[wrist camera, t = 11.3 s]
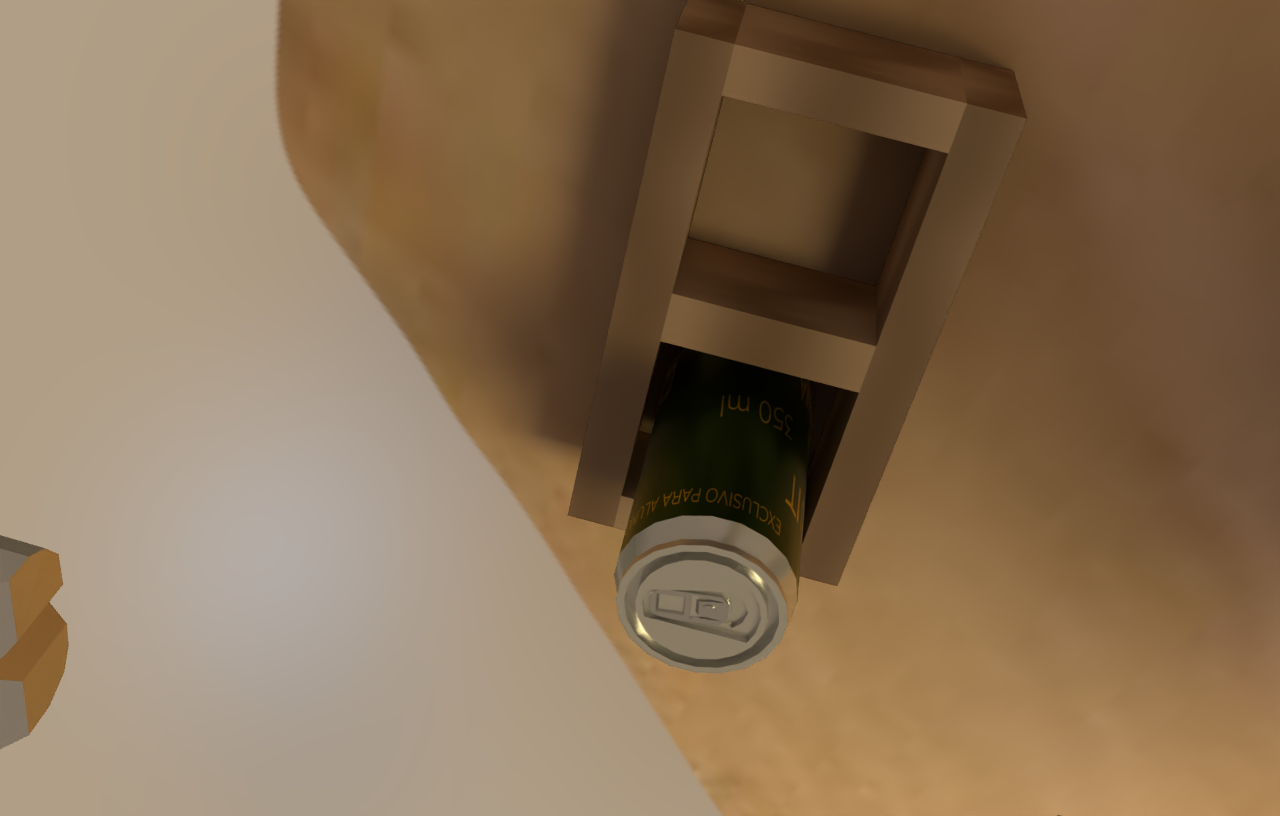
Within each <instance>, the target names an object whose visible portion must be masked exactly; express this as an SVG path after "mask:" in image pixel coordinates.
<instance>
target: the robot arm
mask: <svg viewBox="0 0 1280 816" xmlns="http://www.w3.org/2000/svg"><path fill="white" fill-rule="evenodd" d="M62 585H63V581H62V574H61V568H60V561H59V555H58V554H57V553H54V552H52V551H50V550H48V549H45V548H42V547H39V546H35V545H31V544H28V543H25V542H21V541H18V540H15V539H11V538H8V537H4V536H1V535H0V749H1V748H3V747H5V746H7V745H9V744H12V743H14V742H16V741H18V740H20V739H22V738H24V737H26V736H28V735H29V734H30V733H31V731H32V730H33V729H34V727H35V726H36V724H37V723H38V722H39V720H40V719H41V717H42V716H43V714H44V713H45V712H46V710H47V709H48V707H49V706H50V704H51V701H52V699H53V697H54V694H55V692H56V690H57V687H58V685H59V683H60V680H61V678H62V676H63V673H64V669H65V664H66V658H67V651H68V634H67V633H68V632H67V623H66V622H65V621H64V620H63V618H61V616H60V615H59V614H58V612H57V611H56V610H55V609H54V607H53V606H52V605H51V604H50V602H49V601H50V600H51V599H52V598H53V596H54V595H55V594H56V593H57V591H58V590H59V589H60V587H61V586H62ZM1058 816H1060V815H1058Z"/></svg>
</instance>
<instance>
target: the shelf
mask: <svg viewBox="0 0 1280 816" xmlns="http://www.w3.org/2000/svg"><path fill="white" fill-rule="evenodd" d="M724 96H726V97H730V98H734V99H738V100H742V101H746V102H749V103H753V104H757V105H761V106H765V107H769V108H773V109H777V110H781V111H785V112H788V113H792V114H796V115H800V116H804V117H808V118H812V119H816V120H820V121H824V122H827V123H831V124H835V125H839V126H843V127H847V128H851V129H855V130H859V131H863V132H867V133H870V134H874V135H878V136H882V137H886V138H890V139H894V140H898V141H902V142H906V143H909V144H913V145H917V146H921V147H925V148H926V150H925V153H924V156H923V159H922V161H921V164H920V167H919V170H918V172H917V175H916V178H915V181H914V183H913V186H912V189H911V192H910V194H909V197H908V200H907V203H906V206H905V208H904V211H903V214H902V217H901V219H900V222H899V225H898V228H897V230H896V233H895V236H894V239H893V242H892V244H891V247H890V250H889V253H888V255H887V258H886V261H885V264H884V266H883V269H882V272H881V275H880V277H879V280H878V283H877V286H872V285H868V284H864V283H861V282H857V281H853V280H849V279H845V278H841V277H837V276H833V275H830V274H826V273H822V272H818V271H814V270H810V269H806V268H803V267H799V266H795V265H791V264H787V263H783V262H779V261H775V260H772V259H768V258H764V257H760V256H756V255H752V254H748V253H744V252H741V251H737V250H733V249H729V248H725V247H721V246H717V245H714V244H710V243H706V242H702V241H698V240H694V239H690V238H688V236H689V232H690V228H691V224H692V220H693V216H694V212H695V208H696V204H697V200H698V196H699V192H700V188H701V184H702V180H703V176H704V172H705V168H706V164H707V160H708V156H709V152H710V148H711V145H712V141H713V137H714V133H715V129H716V125H717V121H718V117H719V113H720V109H721V105H722V101H723V97H724ZM1026 121H1027V116H1026V113H1025V109H1024V106H1023V102H1022V99H1021V95H1020V92H1019V88H1018V85H1017V81H1016V78H1015V74H1014V72H1013V71H1009V70H1006V69H1002V68H998V67H994V66H990V65H986V64H982V63H978V62H974V61H970V60H966V59H962V58H958V57H955V56H951V55H947V54H943V53H939V52H935V51H931V50H927V49H923V48H919V47H915V46H911V45H907V44H904V43H900V42H896V41H892V40H888V39H884V38H880V37H876V36H872V35H868V34H864V33H860V32H857V31H853V30H849V29H845V28H841V27H837V26H833V25H829V24H825V23H821V22H817V21H813V20H809V19H806V18H802V17H798V16H794V15H790V14H786V13H782V12H778V11H774V10H770V9H766V8H762V7H758V6H755V5H751V4H747V3H743V2H739V1H735V0H688V1H687V3H686V5H685V8H684V10H683V12H682V14H681V17H680V19H679V21H678V23H677V25H676V28H675V31H674V35H673V40H672V44H671V49H670V53H669V58H668V63H667V67H666V72H665V76H664V81H663V85H662V90H661V94H660V99H659V103H658V108H657V112H656V117H655V122H654V126H653V131H652V135H651V140H650V144H649V149H648V153H647V158H646V162H645V167H644V171H643V176H642V181H641V185H640V190H639V194H638V199H637V203H636V208H635V212H634V217H633V221H632V226H631V230H630V235H629V239H628V244H627V249H626V253H625V258H624V262H623V267H622V271H621V276H620V280H619V285H618V289H617V294H616V298H615V303H614V308H613V312H612V317H611V321H610V326H609V330H608V335H607V339H606V344H605V348H604V353H603V357H602V362H601V367H600V371H599V376H598V380H597V385H596V389H595V394H594V398H593V403H592V407H591V412H590V416H589V421H588V426H587V430H586V435H585V439H584V444H583V448H582V453H581V457H580V462H579V466H578V471H577V475H576V480H575V484H574V489H573V494H572V498H571V503H570V507H569V512H568V516H572V517H576V518H580V519H584V520H587V521H591V522H595V523H599V524H603V525H606V526H610V527H614V528H618V529H622V530H625V531H626V528H627V524H628V520H629V516H630V513H631V509H632V505H633V501H634V498H635V494H636V490H637V486H638V482H639V479H640V475H641V471H642V467H643V464H644V460H645V456H646V452H647V448H648V445H649V441H650V437H651V435H650V434H646V433H642V432H639V430H640V426H641V422H642V418H643V414H644V411H645V407H646V403H647V399H648V395H649V391H650V387H651V383H652V379H653V375H654V371H655V367H656V363H657V359H658V355H659V351H660V347H661V343H662V342H666V343H669V344H673V345H677V346H681V347H685V348H689V349H693V350H696V351H700V352H704V353H708V354H712V355H716V356H719V357H723V358H727V359H731V360H735V361H739V362H743V363H746V364H750V365H754V366H758V367H762V368H766V369H769V370H773V371H777V372H781V373H785V374H789V375H793V376H796V377H800V378H804V379H808V380H812V381H816V382H820V383H823V384H827V385H831V386H835V387H839V391H838V394H837V396H836V399H835V402H834V405H833V408H832V410H831V413H830V416H829V419H828V421H827V424H826V427H825V430H824V432H823V435H822V438H821V441H820V443H819V446H818V449H817V452H816V455H815V457H814V460H813V463H812V466H811V468H810V471H809V474H808V476H807V484H806V497H805V510H804V523H803V536H802V549H801V562H800V575H799V576H801V577H804V578H808V579H812V580H816V581H820V582H823V583H827V584H831V585H835V586H837V585H838V583H839V581H840V578H841V576H842V573H843V571H844V568H845V566H846V563H847V561H848V558H849V556H850V554H851V551H852V549H853V546H854V544H855V541H856V539H857V536H858V534H859V531H860V529H861V526H862V524H863V522H864V519H865V517H866V514H867V512H868V509H869V507H870V504H871V502H872V499H873V497H874V494H875V492H876V490H877V487H878V485H879V482H880V480H881V477H882V475H883V472H884V470H885V467H886V465H887V463H888V460H889V458H890V455H891V453H892V450H893V448H894V445H895V443H896V440H897V438H898V435H899V433H900V431H901V428H902V426H903V423H904V421H905V418H906V416H907V413H908V411H909V408H910V406H911V404H912V401H913V399H914V396H915V394H916V391H917V389H918V386H919V384H920V381H921V379H922V376H923V374H924V372H925V369H926V367H927V364H928V362H929V359H930V357H931V354H932V352H933V349H934V347H935V345H936V342H937V340H938V337H939V335H940V332H941V330H942V327H943V325H944V322H945V320H946V317H947V315H948V313H949V310H950V308H951V305H952V303H953V300H954V298H955V295H956V293H957V290H958V288H959V286H960V283H961V281H962V278H963V276H964V273H965V271H966V268H967V266H968V263H969V261H970V258H971V256H972V254H973V251H974V249H975V246H976V244H977V241H978V239H979V236H980V234H981V231H982V229H983V227H984V224H985V222H986V219H987V217H988V214H989V212H990V209H991V207H992V204H993V202H994V199H995V197H996V195H997V192H998V190H999V187H1000V185H1001V182H1002V180H1003V177H1004V175H1005V172H1006V170H1007V167H1008V165H1009V163H1010V160H1011V158H1012V155H1013V153H1014V150H1015V148H1016V145H1017V143H1018V140H1019V138H1020V136H1021V133H1022V131H1023V128H1024V126H1025V123H1026Z"/></svg>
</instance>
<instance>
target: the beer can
mask: <svg viewBox="0 0 1280 816" xmlns="http://www.w3.org/2000/svg"><path fill="white" fill-rule="evenodd" d="M811 419H812V386H811V384H810V381H809V380H808V379H804V378H800V377H796V376H793V375H789V374H785V373H781V372H777V371H773V370H769V369H766V368H762V367H758V366H754V365H750V364H746V363H743V362H739V361H735V360H731V359H727V358H723V357H719V356H716V355H712V354H708V353H704V352H700V351H696V350H693V349H689V348H686V349H684V350H683V351H681V352H680V354H679V355H678V356H677V358H676V359H675V360H674V362H673V363H672V365H671V366H670V367H669V369H668V373H667V377H666V380H665V384H664V388H663V392H662V395H661V399H660V403H659V407H658V411H657V414H656V418H655V422H654V426H653V429H652V433H651V437H650V441H649V445H648V448H647V452H646V456H645V460H644V464H643V467H642V471H641V475H640V479H639V482H638V486H637V490H636V494H635V498H634V501H633V505H632V509H631V513H630V516H629V520H628V524H627V528H626V532H625V535H624V539H623V543H622V547H621V551H620V554H619V558H618V562H617V566H616V570H615V573H614V577H615V583H616V590H617V597H616V603H617V609H618V615H619V620H620V622H621V623H622V625H623V627H624V628H625V630H626V632H627V634H628V635H629V637H630V638H631V639H632V640H633V641H634V642H635V643H636V644H637V645H638V646H639V647H640V648H642V649H643V650H644V651H645V652H646V653H647V654H649V655H650V656H652V657H654V658H656V659H658V660H660V661H662V662H664V663H665V664H667V665H669V666H673V667H676V668H680V669H684V670H688V671H691V672H696V673H725V672H730V671H735V670H740V669H745V668H747V667H749V666H751V665H753V664H755V663H757V662H759V661H761V660H763V659H765V658H766V657H767V656H768V655H769V654H770V653H771V652H772V651H773V650H774V649H775V648H776V647H777V646H778V645H779V643H780V642H781V639H782V637H783V634H784V632H785V629H786V626H787V623H788V622H789V621H790V619H791V616H792V614H793V611H794V609H795V606H796V603H797V601H798V588H799V575H800V562H801V549H802V536H803V523H804V510H805V497H806V484H807V471H808V458H809V445H810V432H811Z"/></svg>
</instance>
